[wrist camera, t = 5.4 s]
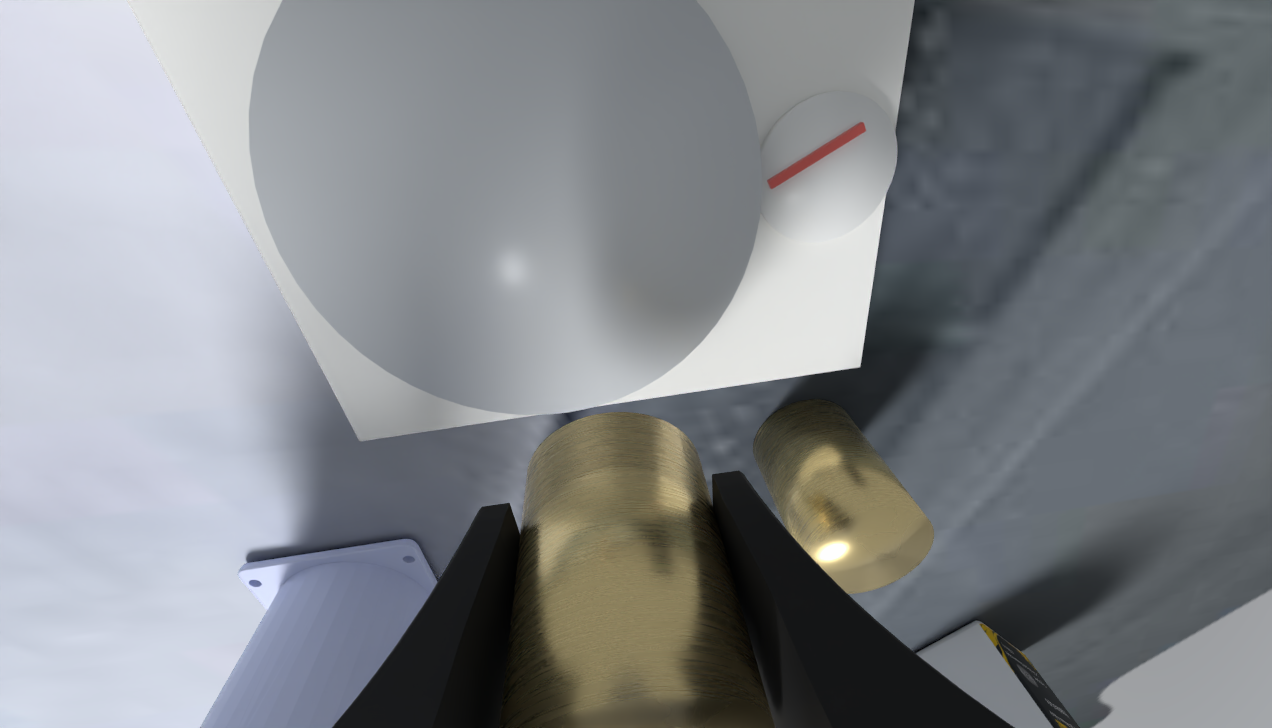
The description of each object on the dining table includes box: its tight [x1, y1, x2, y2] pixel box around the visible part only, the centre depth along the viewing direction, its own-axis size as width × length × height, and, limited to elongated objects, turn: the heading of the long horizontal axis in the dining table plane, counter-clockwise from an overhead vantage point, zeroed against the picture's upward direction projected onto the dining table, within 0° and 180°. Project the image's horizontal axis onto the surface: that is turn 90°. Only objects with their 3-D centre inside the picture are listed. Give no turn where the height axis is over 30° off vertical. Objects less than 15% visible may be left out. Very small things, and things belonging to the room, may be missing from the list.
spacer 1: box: [499, 412, 775, 728], centre depth 10 cm, size 4×4×6 cm
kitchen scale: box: [127, 0, 915, 441], centre depth 14 cm, size 14×18×3 cm
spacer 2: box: [753, 399, 934, 594], centre depth 20 cm, size 4×4×6 cm
